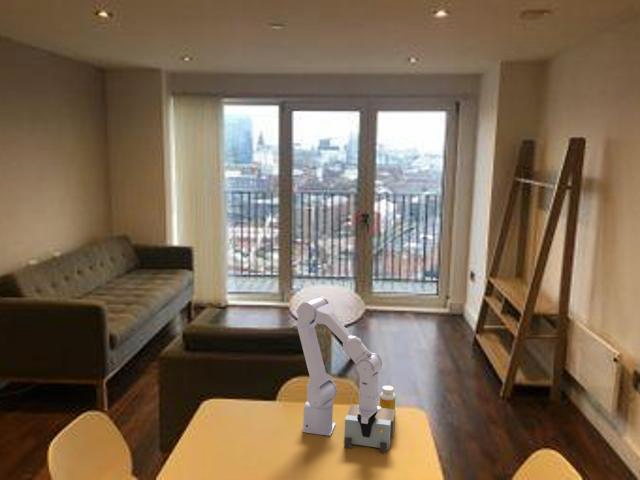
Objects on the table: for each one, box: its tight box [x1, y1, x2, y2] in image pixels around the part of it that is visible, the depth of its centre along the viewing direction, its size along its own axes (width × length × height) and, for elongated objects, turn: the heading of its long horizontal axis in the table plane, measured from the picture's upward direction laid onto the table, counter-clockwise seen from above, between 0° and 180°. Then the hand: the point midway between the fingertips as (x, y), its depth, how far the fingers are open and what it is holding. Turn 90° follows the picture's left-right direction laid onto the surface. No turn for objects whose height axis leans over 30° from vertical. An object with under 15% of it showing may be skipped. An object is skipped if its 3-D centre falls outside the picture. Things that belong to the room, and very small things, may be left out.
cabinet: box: [344, 403, 397, 455], centre depth 178 cm, size 15×17×6 cm
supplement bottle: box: [379, 385, 396, 410], centre depth 193 cm, size 5×5×10 cm
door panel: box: [343, 414, 391, 450], centre depth 172 cm, size 14×4×8 cm, turn 77°
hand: (367, 433), depth 173 cm, fingers closed on door panel, 3 cm apart
